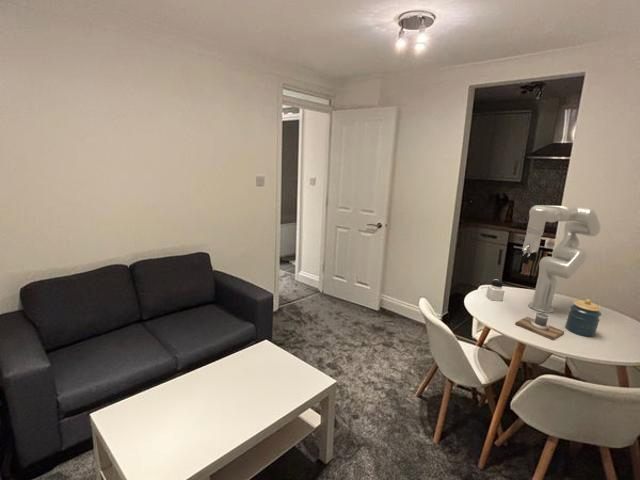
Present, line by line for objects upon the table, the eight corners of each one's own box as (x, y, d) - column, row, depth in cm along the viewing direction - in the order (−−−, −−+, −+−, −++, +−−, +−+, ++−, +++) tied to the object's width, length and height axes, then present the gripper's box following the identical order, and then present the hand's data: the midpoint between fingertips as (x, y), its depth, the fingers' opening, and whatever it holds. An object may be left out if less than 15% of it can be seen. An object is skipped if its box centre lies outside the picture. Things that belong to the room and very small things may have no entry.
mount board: (526, 319, 192) (527, 314, 191) (563, 333, 178) (565, 328, 177) (515, 324, 184) (516, 319, 184) (553, 340, 171) (554, 334, 170)
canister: (597, 340, 175) (607, 307, 170) (566, 332, 181) (574, 300, 176) (592, 329, 186) (601, 298, 182) (563, 322, 192) (571, 292, 188)
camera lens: (537, 320, 184) (539, 311, 183) (547, 324, 180) (550, 315, 179) (532, 322, 181) (535, 313, 180) (543, 327, 177) (545, 318, 176)
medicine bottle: (502, 301, 215) (506, 283, 212) (490, 300, 215) (494, 282, 212) (497, 296, 222) (500, 278, 219) (485, 295, 222) (489, 278, 219)
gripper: (533, 228, 194) (527, 257, 199) (520, 231, 184) (514, 262, 188) (549, 231, 189) (542, 261, 193) (536, 234, 178) (529, 266, 182)
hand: (528, 262), depth 190 cm, fingers open, 9 cm apart
